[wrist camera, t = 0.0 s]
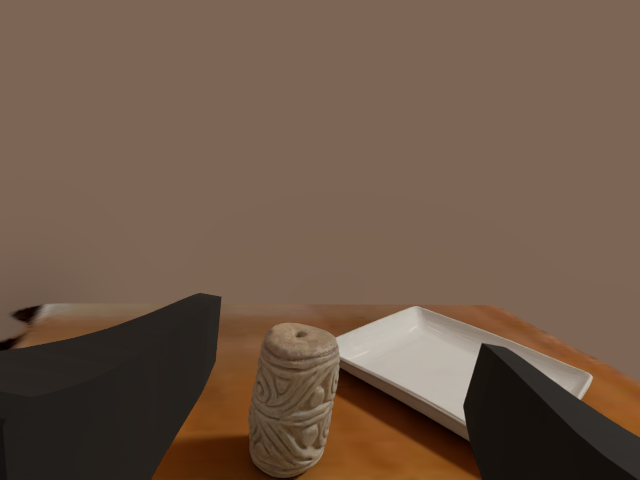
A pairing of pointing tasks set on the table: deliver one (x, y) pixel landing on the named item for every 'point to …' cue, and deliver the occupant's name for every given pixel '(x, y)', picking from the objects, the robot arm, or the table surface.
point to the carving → (292, 399)
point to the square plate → (435, 362)
